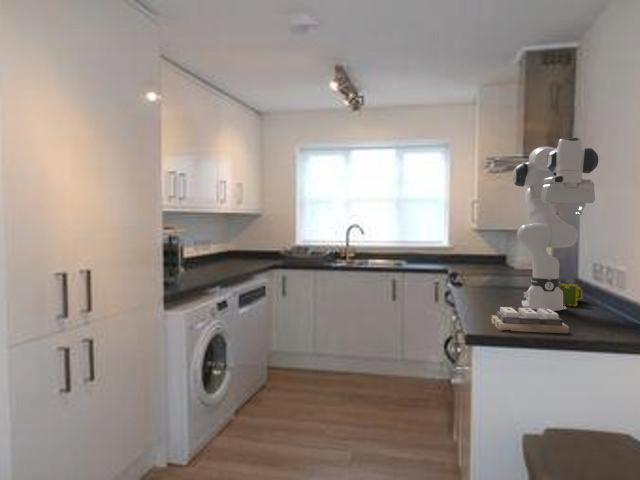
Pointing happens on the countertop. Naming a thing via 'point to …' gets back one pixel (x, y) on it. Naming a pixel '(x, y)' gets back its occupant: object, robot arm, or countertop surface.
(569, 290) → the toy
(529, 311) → the key two
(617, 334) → the countertop surface
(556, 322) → the key panel
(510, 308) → the key one
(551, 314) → the key three
